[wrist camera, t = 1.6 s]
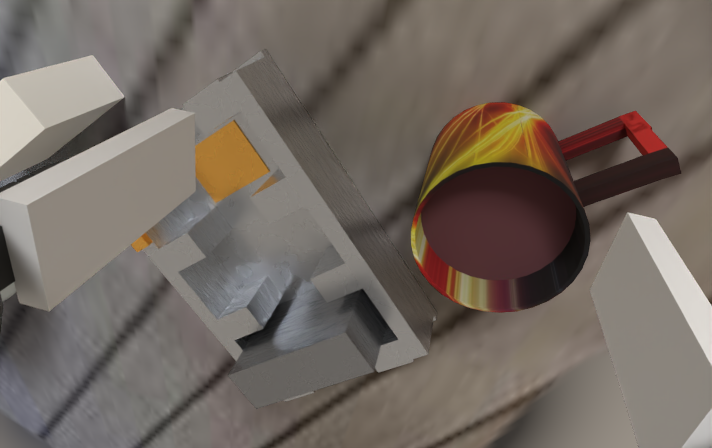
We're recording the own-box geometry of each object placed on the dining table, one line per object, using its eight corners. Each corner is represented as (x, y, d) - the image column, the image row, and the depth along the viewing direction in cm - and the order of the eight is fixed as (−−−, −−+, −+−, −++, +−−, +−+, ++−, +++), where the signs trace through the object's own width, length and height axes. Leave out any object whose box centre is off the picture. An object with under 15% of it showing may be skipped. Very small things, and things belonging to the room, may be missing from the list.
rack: (126, 150, 45) (41, 196, 36) (265, 49, 38) (201, 76, 29) (295, 363, 53) (258, 442, 44) (437, 313, 46) (426, 396, 37)
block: (16, 123, 46) (-77, 157, 39) (93, 54, 41) (3, 78, 34) (47, 159, 48) (-38, 198, 40) (125, 96, 43) (45, 128, 35)
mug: (639, 113, 34) (706, 182, 24) (497, 242, 41) (501, 338, 31) (533, 23, 33) (555, 54, 23) (405, 171, 40) (377, 246, 30)
